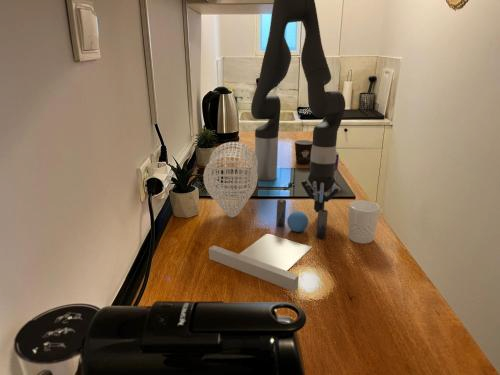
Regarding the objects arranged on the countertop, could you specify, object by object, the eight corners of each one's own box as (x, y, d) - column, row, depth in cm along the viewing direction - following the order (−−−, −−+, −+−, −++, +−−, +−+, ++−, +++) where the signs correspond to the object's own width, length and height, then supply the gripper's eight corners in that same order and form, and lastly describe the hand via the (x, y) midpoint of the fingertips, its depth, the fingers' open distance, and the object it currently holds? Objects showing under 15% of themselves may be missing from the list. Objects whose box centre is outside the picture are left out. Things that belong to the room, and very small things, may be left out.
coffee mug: (291, 164, 174) (292, 143, 170) (296, 159, 181) (297, 139, 178) (316, 167, 170) (318, 145, 166) (320, 162, 177) (322, 141, 174)
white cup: (375, 234, 109) (379, 202, 106) (374, 247, 102) (379, 213, 99) (347, 230, 112) (351, 198, 108) (344, 242, 105) (348, 209, 101)
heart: (213, 199, 133) (211, 137, 125) (256, 200, 133) (258, 138, 125) (202, 236, 107) (199, 161, 99) (256, 237, 107) (258, 162, 99)
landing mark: (239, 254, 98) (239, 253, 98) (267, 234, 109) (267, 233, 109) (286, 271, 90) (286, 271, 90) (311, 247, 101) (311, 247, 101)
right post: (314, 237, 107) (316, 211, 104) (318, 234, 109) (320, 208, 106) (323, 240, 105) (325, 214, 103) (326, 236, 107) (329, 211, 105)
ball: (282, 216, 108) (293, 204, 112) (284, 232, 111) (295, 220, 115) (299, 223, 105) (311, 210, 108) (301, 238, 108) (312, 226, 111)
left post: (274, 226, 114) (275, 201, 111) (278, 223, 116) (279, 198, 113) (282, 228, 112) (283, 203, 109) (286, 225, 114) (287, 200, 111)
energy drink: (336, 184, 149) (339, 155, 145) (322, 183, 150) (324, 154, 146) (336, 180, 154) (338, 151, 149) (322, 179, 155) (325, 150, 150)
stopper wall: (209, 258, 96) (208, 248, 95) (214, 255, 97) (213, 245, 96) (293, 291, 83) (294, 279, 82) (297, 286, 85) (298, 275, 84)
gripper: (297, 158, 115) (294, 210, 121) (339, 166, 108) (333, 221, 114) (308, 153, 121) (305, 203, 127) (348, 160, 114) (343, 212, 120)
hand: (318, 211), depth 120 cm, fingers closed
